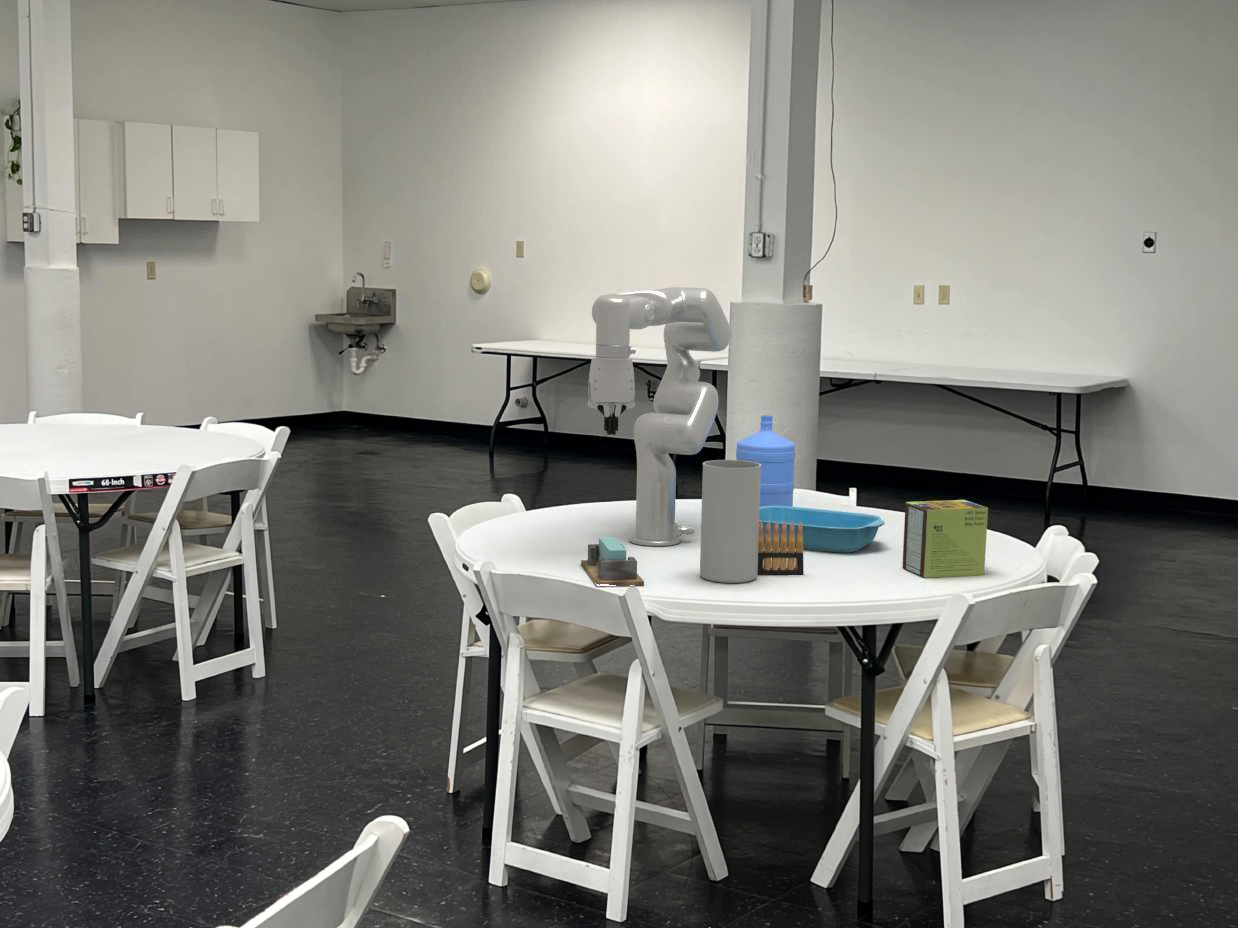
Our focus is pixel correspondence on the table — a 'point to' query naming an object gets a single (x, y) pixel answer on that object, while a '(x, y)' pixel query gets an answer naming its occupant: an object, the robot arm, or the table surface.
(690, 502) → the table surface
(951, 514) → the protein box
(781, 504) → the water jug
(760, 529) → the ammunition clip
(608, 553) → the teal long block
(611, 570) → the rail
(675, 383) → the robot arm
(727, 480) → the cylinder vase
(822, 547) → the casserole dish
